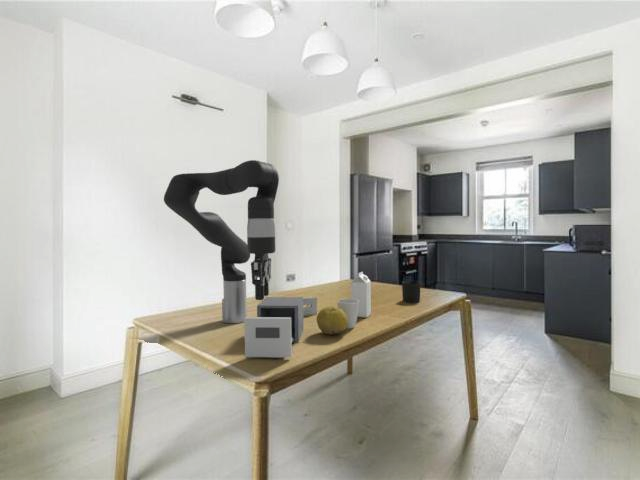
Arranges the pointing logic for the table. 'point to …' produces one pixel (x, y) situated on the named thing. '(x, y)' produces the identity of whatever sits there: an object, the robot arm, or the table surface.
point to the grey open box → (284, 312)
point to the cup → (349, 310)
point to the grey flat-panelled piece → (268, 337)
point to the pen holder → (411, 291)
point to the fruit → (332, 320)
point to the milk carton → (362, 294)
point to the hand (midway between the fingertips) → (262, 297)
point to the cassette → (312, 308)
